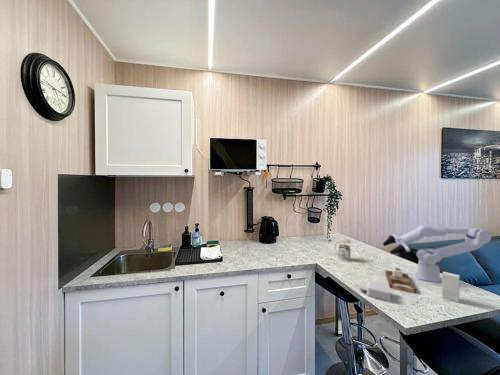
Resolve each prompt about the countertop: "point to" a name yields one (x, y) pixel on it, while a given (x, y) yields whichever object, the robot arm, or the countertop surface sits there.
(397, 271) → the plug
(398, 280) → the socket holder
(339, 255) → the french press
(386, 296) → the charger
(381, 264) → the countertop surface
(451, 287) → the skincare box
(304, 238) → the countertop surface
